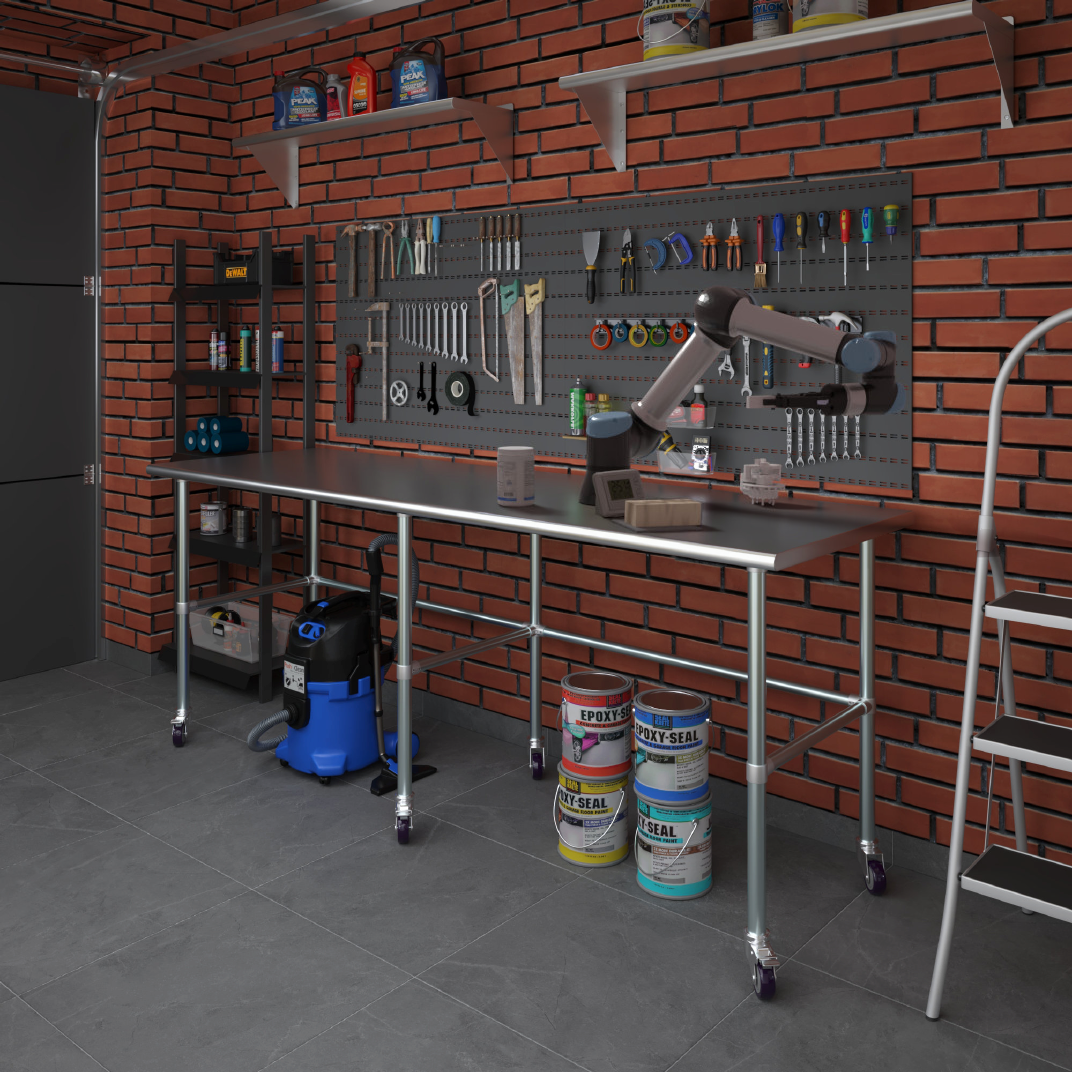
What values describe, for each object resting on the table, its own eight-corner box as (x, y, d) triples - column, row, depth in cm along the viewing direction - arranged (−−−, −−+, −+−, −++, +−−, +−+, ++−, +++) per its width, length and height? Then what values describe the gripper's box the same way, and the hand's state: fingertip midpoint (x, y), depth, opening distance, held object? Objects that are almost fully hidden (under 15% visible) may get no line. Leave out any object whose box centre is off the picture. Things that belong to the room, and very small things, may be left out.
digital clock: (602, 519, 245) (603, 474, 243) (581, 514, 253) (581, 470, 251) (656, 514, 254) (658, 471, 252) (633, 509, 261) (635, 467, 259)
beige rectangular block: (689, 520, 242) (624, 522, 238) (689, 498, 241) (625, 500, 237) (701, 524, 235) (635, 527, 231) (702, 503, 234) (636, 504, 230)
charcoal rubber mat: (611, 521, 241) (611, 519, 241) (673, 519, 246) (673, 517, 246) (636, 532, 226) (636, 530, 226) (701, 530, 231) (702, 528, 230)
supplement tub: (526, 501, 273) (527, 445, 270) (539, 506, 264) (540, 448, 262) (491, 503, 270) (492, 446, 267) (503, 508, 261) (504, 449, 258)
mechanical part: (757, 507, 267) (759, 461, 265) (732, 501, 278) (733, 457, 276) (793, 505, 271) (796, 460, 269) (767, 500, 282) (769, 456, 280)
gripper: (854, 418, 238) (759, 420, 233) (826, 413, 250) (735, 416, 245) (856, 384, 237) (760, 387, 231) (827, 382, 249) (736, 384, 244)
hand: (747, 402), depth 238 cm, fingers closed
